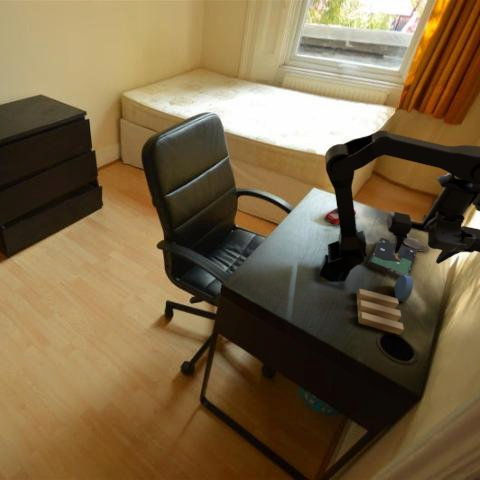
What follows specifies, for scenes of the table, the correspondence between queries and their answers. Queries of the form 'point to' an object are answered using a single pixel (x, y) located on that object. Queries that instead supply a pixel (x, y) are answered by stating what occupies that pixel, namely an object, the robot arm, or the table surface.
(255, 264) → the table surface
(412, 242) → the decorative disc
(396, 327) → the rack
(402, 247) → the disk drive
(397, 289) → the blue disc
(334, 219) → the race car
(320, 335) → the table surface
